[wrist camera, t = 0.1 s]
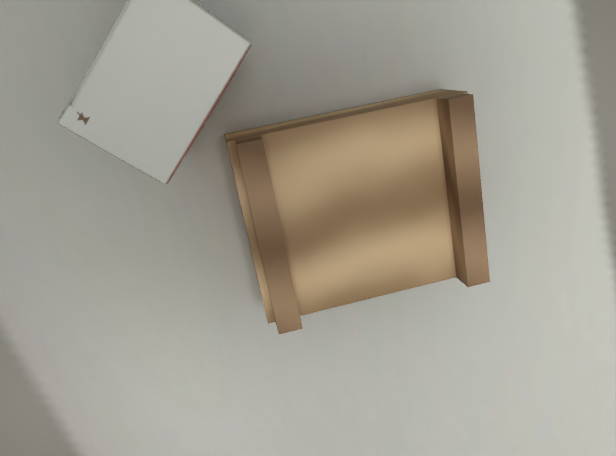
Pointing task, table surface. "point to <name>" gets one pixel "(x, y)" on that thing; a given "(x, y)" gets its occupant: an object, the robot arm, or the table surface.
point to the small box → (155, 83)
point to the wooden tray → (362, 202)
